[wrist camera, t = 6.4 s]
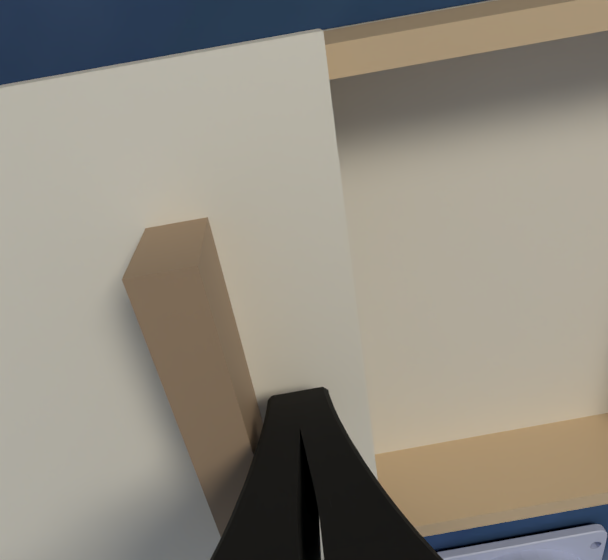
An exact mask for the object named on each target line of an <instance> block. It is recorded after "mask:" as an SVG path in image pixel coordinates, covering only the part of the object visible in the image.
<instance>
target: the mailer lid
mask: <svg viewBox="0 0 608 560" xmlns="http://www.w3.org/2000/svg"><path fill="white" fill-rule="evenodd" d="M318 387H324V388H326V389H328V391H329V395H330V398H331V400H332V403H333V406H334V408H335V410H336V412H337V414H338V417H339V419H340V420H341V422H342V424H343V426H344V428H345V430H346V432H347V434H348V435H349V437H350V439H351V440H352V442H353V444H354V445H355V447H356V448H357V450H358V452H359V453H360V455H361V456H362V458H363V460H364V461H365V463H366V464H367V466H368V467H369V469H370V470H371V472H372V473H373V475H374V476H375V477H376V479H377V480H378V477H377V469H376V461H375V453H374V444H373V436H372V428H371V420H370V411H369V403H368V395H367V387H366V379H365V370H364V362H363V354H362V346H361V337H360V329H359V321H358V313H357V304H356V296H355V288H354V280H353V271H352V263H351V255H350V247H349V238H348V230H347V222H346V214H345V205H344V197H343V189H342V181H341V173H340V164H339V156H338V148H337V140H336V131H335V123H334V115H333V107H332V98H331V90H330V82H329V74H328V65H327V57H326V49H325V41H324V32H323V30H321V29H314V30H308V31H303V32H297V33H291V34H286V35H280V36H275V37H269V38H263V39H258V40H252V41H246V42H241V43H235V44H230V45H224V46H218V47H213V48H207V49H201V50H196V51H190V52H185V53H179V54H173V55H168V56H162V57H156V58H151V59H145V60H140V61H134V62H128V63H123V64H117V65H111V66H106V67H100V68H95V69H89V70H83V71H78V72H72V73H66V74H61V75H55V76H50V77H44V78H38V79H33V80H27V81H21V82H16V83H10V84H5V85H0V560H210V559H211V557H212V555H213V553H214V551H215V549H216V547H217V545H218V543H219V541H220V539H221V537H222V534H223V532H224V530H225V528H226V526H227V524H228V521H229V519H230V517H231V515H232V512H233V510H234V507H235V505H236V502H237V500H238V497H239V495H240V492H241V490H242V488H243V485H244V483H245V480H246V477H247V474H248V471H249V468H250V466H251V463H252V460H253V457H254V454H255V451H256V448H257V444H258V441H259V437H260V434H261V430H262V427H263V423H264V418H265V414H266V409H267V402H268V400H269V398H270V397H271V396H273V395H278V394H284V393H290V392H295V391H301V390H307V389H312V388H318ZM319 524H320V519H319ZM320 545H321V560H324V554H323V545H322V537H321V528H320Z"/></svg>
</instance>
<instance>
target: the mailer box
mask: <svg viewBox="0 0 608 560" xmlns="http://www.w3.org/2000/svg"><path fill="white" fill-rule="evenodd" d="M323 32H324V41H325V49H326V57H327V65H328V74H329V82H330V90H331V98H332V107H333V115H334V123H335V131H336V140H337V148H338V156H339V164H340V173H341V181H342V189H343V197H344V205H345V214H346V222H347V230H348V238H349V247H350V255H351V263H352V271H353V280H354V288H355V296H356V304H357V313H358V321H359V329H360V337H361V346H362V354H363V362H364V370H365V379H366V387H367V395H368V403H369V411H370V420H371V428H372V436H373V444H374V453H375V461H376V469H377V477H378V481H379V483H380V484H381V486H382V487H383V488H384V490H385V491H386V493H387V494H388V495H389V496H390V498H391V499H392V500H393V502H394V503H395V504H396V506H397V507H398V508H399V509H400V511H401V512H402V513H403V514H404V515H405V517H406V518H407V519H408V520H409V521H410V523H411V524H412V525H413V526H414V527H415V529H416V530H417V531H418V532H419V533H420V534H421V536H422V537H425V536H431V535H436V534H442V533H447V532H453V531H458V530H464V529H470V528H475V527H481V526H486V525H492V524H498V523H503V522H509V521H514V520H520V519H525V518H531V517H537V516H542V515H548V514H553V513H559V512H565V511H570V510H576V509H581V508H587V507H593V506H598V505H604V504H608V0H489V1H484V2H478V3H472V4H467V5H461V6H455V7H450V8H444V9H439V10H433V11H427V12H422V13H416V14H410V15H405V16H399V17H394V18H388V19H382V20H377V21H371V22H365V23H360V24H354V25H349V26H343V27H337V28H332V29H326V30H323Z"/></svg>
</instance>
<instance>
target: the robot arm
mask: <svg viewBox="0 0 608 560" xmlns="http://www.w3.org/2000/svg"><path fill="white" fill-rule="evenodd" d="M319 519H320V524H319ZM320 528H321V537H322V545H323V554H324V560H602V556H603V552H604V547H605V543H606V539H607V532H606V531H605V529H604V528H603V526H602V525H599V524H591V525H585V526H579V527H574V528H568V529H563V530H557V531H552V532H546V533H540V534H535V535H529V536H524V537H518V538H512V539H507V540H501V541H496V542H490V543H485V544H479V545H473V546H468V547H462V548H457V549H451V550H445V551H440V552H436V551H435V550H434V549H433V548H432V547H431V546H430V545H429V543H428V542H427V541H426V540H425V539H424V538H423V537H422V536H421V534H420V533H419V532H418V531H417V530H416V529H415V527H414V526H413V525H412V524H411V523H410V521H409V520H408V519H407V518H406V517H405V515H404V514H403V513H402V512H401V511H400V509H399V508H398V507H397V506H396V504H395V503H394V502H393V500H392V499H391V498H390V496H389V495H388V494H387V493H386V491H385V490H384V488H383V487H382V486H381V484H380V483H379V481H378V480H377V479H376V477H375V476H374V475H373V473H372V472H371V470H370V469H369V467H368V466H367V464H366V463H365V461H364V460H363V458H362V456H361V455H360V453H359V452H358V450H357V448H356V447H355V445H354V444H353V442H352V440H351V439H350V437H349V435H348V434H347V432H346V430H345V428H344V426H343V424H342V422H341V420H340V419H339V417H338V414H337V412H336V410H335V408H334V406H333V403H332V400H331V398H330V395H329V391H328V389H326V388H324V387H318V388H312V389H307V390H301V391H295V392H290V393H284V394H278V395H273V396H271V397H270V398H269V400H268V402H267V409H266V414H265V418H264V423H263V427H262V430H261V434H260V437H259V441H258V444H257V448H256V451H255V454H254V457H253V460H252V463H251V466H250V468H249V471H248V474H247V477H246V480H245V483H244V485H243V488H242V490H241V492H240V495H239V497H238V500H237V502H236V505H235V507H234V510H233V512H232V515H231V517H230V519H229V521H228V524H227V526H226V528H225V530H224V532H223V534H222V537H221V539H220V541H219V543H218V545H217V547H216V549H215V551H214V553H213V555H212V557H211V559H210V560H321V545H320Z"/></svg>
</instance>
